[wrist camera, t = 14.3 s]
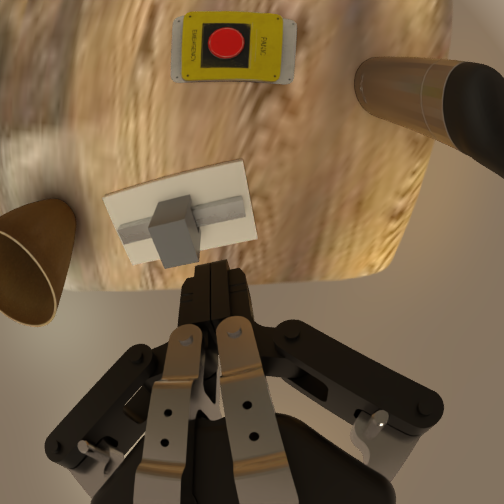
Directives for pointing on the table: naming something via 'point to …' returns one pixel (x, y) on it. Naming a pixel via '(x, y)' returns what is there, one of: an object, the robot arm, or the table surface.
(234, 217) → the rail
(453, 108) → the robot arm
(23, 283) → the plant pot
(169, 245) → the block
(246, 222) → the mounting plate
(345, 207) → the table surface
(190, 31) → the emergency button
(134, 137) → the table surface
